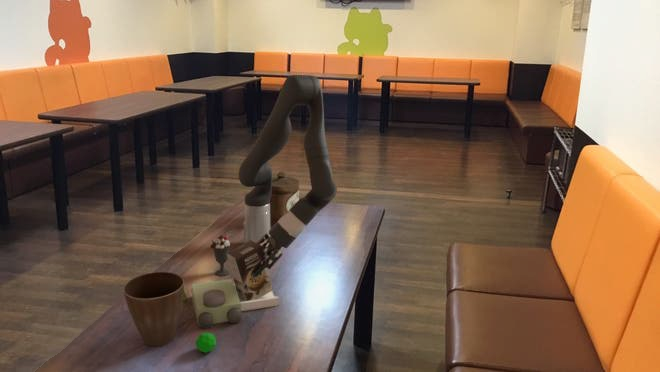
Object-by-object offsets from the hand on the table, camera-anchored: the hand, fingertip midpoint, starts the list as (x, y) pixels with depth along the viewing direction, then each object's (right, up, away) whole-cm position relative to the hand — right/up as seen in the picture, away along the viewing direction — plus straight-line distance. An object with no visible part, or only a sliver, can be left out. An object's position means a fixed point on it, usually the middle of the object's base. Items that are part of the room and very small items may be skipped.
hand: (251, 268), depth 163 cm
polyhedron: (-8, -18, -24) cm, 30 cm away
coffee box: (+1, -8, +3) cm, 9 cm away
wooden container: (+3, +9, +67) cm, 67 cm away
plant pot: (-22, -16, -19) cm, 33 cm away
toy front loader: (-4, -11, -2) cm, 12 cm away
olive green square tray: (-25, -10, +2) cm, 27 cm away
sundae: (-12, -5, +20) cm, 24 cm away
